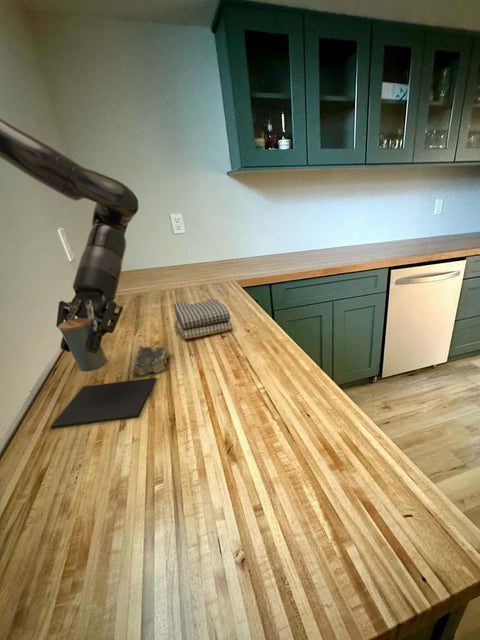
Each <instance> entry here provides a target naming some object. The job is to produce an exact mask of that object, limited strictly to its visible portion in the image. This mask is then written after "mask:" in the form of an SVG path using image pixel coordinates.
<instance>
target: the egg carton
mask: <svg viewBox="0 0 480 640" xmlns="http://www.w3.org/2000/svg"><path fill="white" fill-rule="evenodd" d="M169 357H170V356H169V353H168V345H166V346H163V345H162V346H161V347H159V346H155V349H152V348H151V347H150V346H143V345H140V346H139V347H138V349H137V354H136V356H135V360H133V367H132V369H135V370H136V374H137V375H140V376H146V375H147V374H149V373H154V374H158V373H160V372H163V371H165V370H166V367H165V365H167V364H168V361H167V360H168V359H169Z"/></svg>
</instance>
